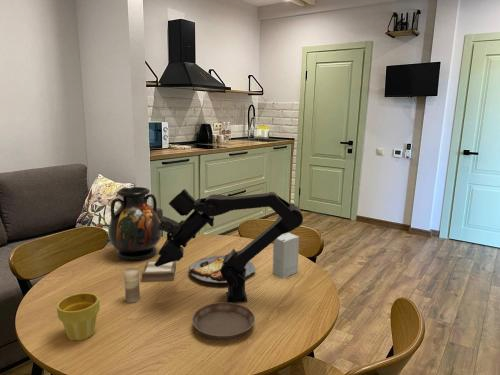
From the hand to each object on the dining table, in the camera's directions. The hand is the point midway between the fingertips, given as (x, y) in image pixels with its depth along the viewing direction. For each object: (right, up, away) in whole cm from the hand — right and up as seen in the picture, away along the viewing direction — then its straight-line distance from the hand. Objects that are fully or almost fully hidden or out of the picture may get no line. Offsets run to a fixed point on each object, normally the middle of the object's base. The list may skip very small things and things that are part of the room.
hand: (157, 259), depth 119 cm
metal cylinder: (-8, -13, +2) cm, 16 cm away
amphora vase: (-18, -6, +39) cm, 44 cm away
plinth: (-4, -9, +20) cm, 22 cm away
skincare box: (+43, -10, +23) cm, 50 cm away
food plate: (+19, -10, +23) cm, 31 cm away
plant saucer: (+22, -17, -12) cm, 30 cm away
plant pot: (-17, -17, -17) cm, 29 cm away
